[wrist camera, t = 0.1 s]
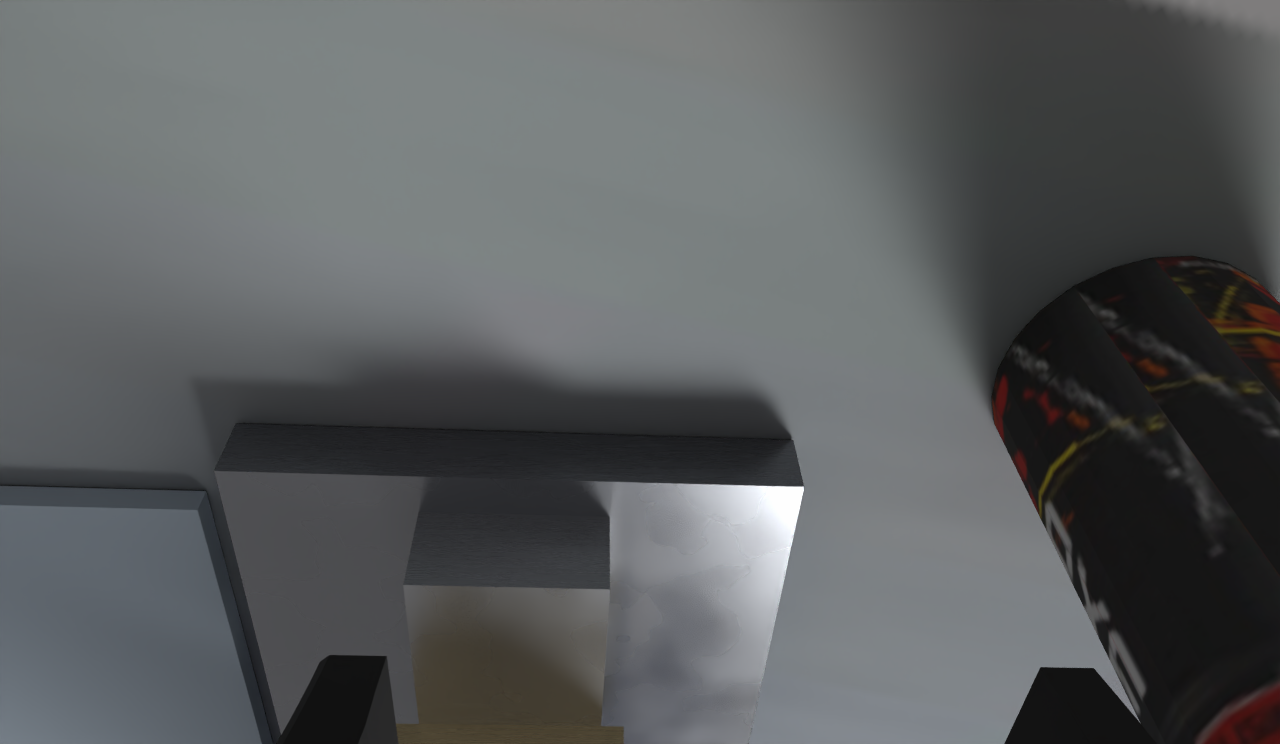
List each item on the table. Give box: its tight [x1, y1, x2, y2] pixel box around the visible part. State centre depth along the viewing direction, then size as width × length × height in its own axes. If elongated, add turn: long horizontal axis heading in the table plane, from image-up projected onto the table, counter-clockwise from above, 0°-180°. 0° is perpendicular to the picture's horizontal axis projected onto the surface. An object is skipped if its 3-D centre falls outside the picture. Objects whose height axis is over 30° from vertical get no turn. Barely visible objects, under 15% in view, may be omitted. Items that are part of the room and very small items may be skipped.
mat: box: [0, 486, 273, 744], centre depth 26 cm, size 14×10×1 cm
